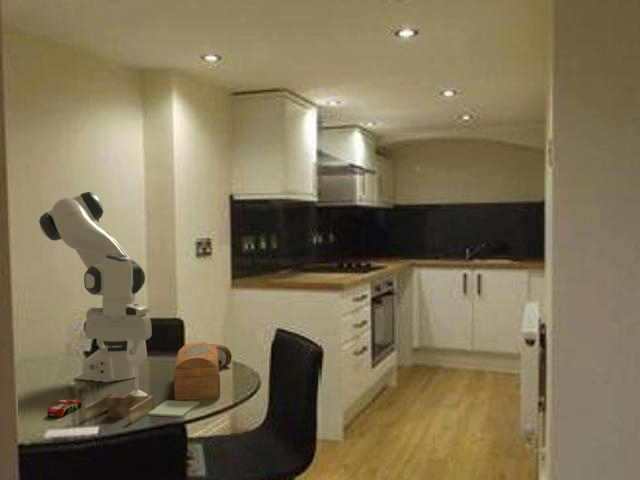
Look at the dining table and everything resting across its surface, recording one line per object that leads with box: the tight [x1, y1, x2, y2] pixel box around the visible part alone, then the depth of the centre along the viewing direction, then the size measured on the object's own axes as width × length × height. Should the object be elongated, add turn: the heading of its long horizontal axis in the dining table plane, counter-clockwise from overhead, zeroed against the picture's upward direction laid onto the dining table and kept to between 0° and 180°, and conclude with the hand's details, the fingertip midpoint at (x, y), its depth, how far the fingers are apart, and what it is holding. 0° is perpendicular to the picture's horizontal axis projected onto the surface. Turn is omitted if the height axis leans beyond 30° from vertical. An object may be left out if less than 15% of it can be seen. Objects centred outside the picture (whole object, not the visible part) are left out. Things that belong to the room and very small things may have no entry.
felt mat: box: [147, 399, 200, 418], centre depth 194 cm, size 11×14×1 cm
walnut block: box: [107, 392, 132, 419], centre depth 188 cm, size 5×5×6 cm
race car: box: [46, 399, 82, 418], centre depth 192 cm, size 13×5×4 cm, turn 170°
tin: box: [210, 343, 233, 368], centre depth 254 cm, size 15×3×8 cm, turn 58°
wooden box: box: [173, 341, 223, 401], centre depth 220 cm, size 30×16×14 cm, turn 10°
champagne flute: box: [126, 340, 148, 396], centre depth 210 cm, size 7×7×24 cm
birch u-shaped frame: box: [84, 393, 155, 424], centre depth 189 cm, size 15×14×4 cm
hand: (118, 353), depth 188 cm, fingers open, 8 cm apart
